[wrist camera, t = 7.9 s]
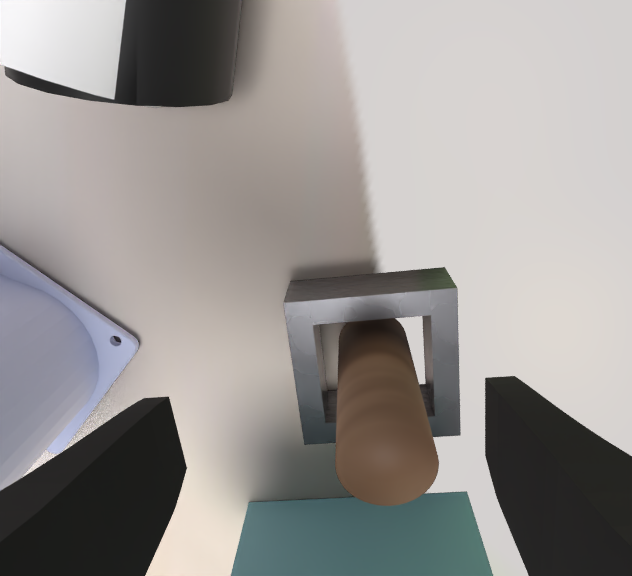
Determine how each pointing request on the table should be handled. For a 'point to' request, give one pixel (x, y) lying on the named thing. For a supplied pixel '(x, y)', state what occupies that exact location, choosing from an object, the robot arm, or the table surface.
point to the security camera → (123, 49)
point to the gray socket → (372, 304)
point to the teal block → (362, 538)
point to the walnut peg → (381, 417)
